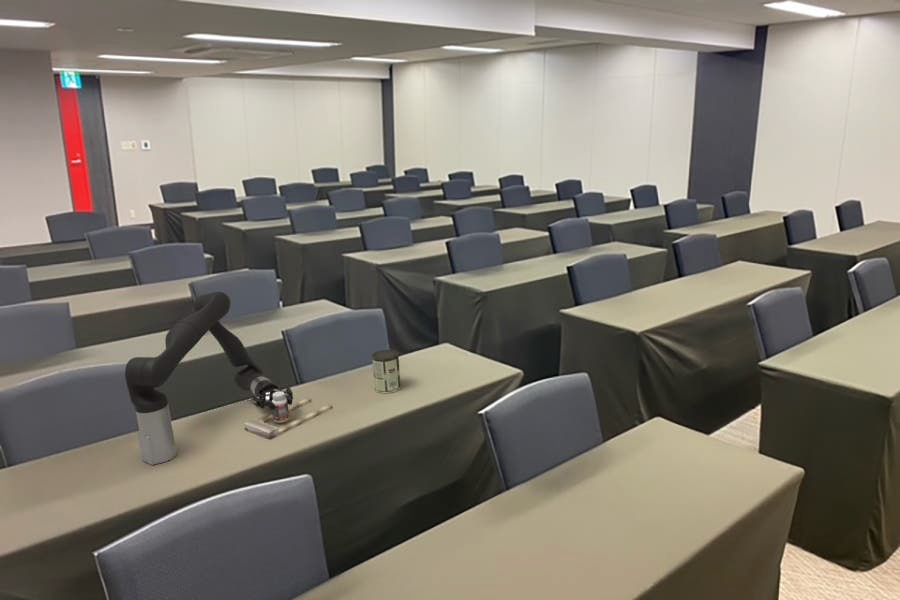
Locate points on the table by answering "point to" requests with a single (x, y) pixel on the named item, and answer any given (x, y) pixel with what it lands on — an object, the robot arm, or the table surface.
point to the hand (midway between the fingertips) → (282, 404)
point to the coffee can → (386, 371)
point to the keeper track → (271, 431)
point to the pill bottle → (280, 407)
